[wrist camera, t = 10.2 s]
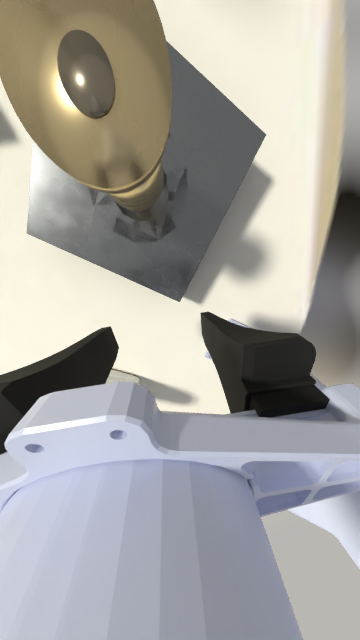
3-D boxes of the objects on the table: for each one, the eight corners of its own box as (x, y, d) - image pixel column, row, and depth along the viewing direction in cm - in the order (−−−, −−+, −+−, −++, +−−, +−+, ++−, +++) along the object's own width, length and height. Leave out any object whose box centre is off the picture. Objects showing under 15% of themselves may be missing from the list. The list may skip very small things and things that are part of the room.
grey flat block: (245, 157, 15) (266, 134, 12) (177, 293, 21) (179, 302, 18) (80, 18, 11) (47, -71, 8) (52, 235, 17) (26, 233, 14)
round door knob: (181, 153, 10) (201, 20, 4) (153, 230, 12) (139, 214, 6) (105, 97, 9) (-25, -218, 3) (87, 193, 11) (-16, 124, 5)
